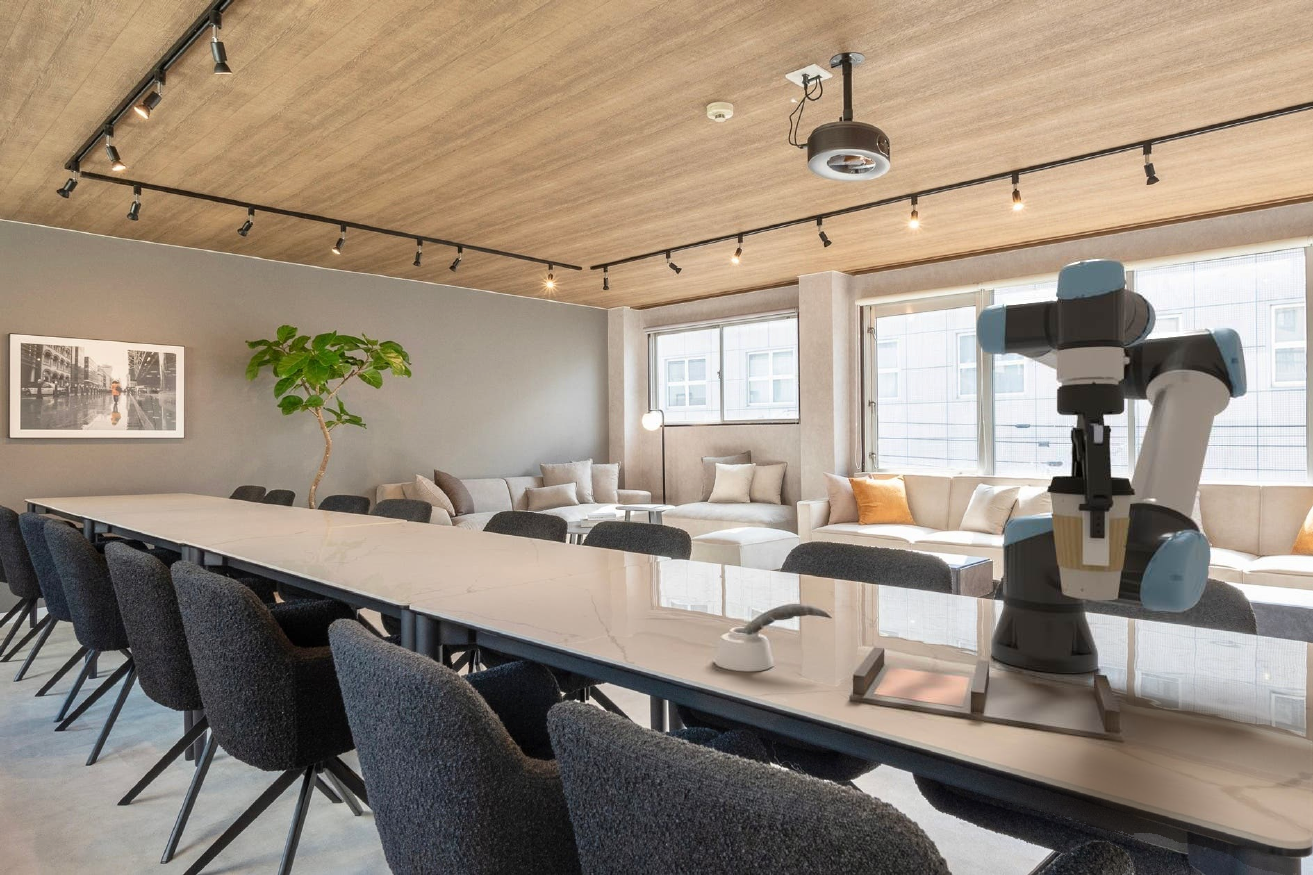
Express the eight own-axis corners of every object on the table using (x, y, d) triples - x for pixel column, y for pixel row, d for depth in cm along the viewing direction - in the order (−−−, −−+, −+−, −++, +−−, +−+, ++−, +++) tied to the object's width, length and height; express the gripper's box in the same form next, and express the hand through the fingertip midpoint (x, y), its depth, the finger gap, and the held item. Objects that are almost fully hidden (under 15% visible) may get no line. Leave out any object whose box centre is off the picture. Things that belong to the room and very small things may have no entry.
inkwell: (723, 652, 124) (724, 590, 124) (836, 665, 118) (837, 600, 118) (706, 667, 115) (706, 601, 116) (827, 682, 109) (828, 611, 109)
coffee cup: (1140, 594, 99) (1141, 477, 99) (1128, 607, 91) (1128, 480, 91) (1056, 584, 105) (1056, 475, 105) (1037, 596, 98) (1038, 477, 98)
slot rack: (849, 699, 101) (849, 676, 101) (873, 665, 118) (873, 645, 118) (1123, 741, 88) (1123, 714, 88) (1107, 696, 104) (1107, 673, 104)
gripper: (1142, 376, 87) (1142, 574, 87) (1108, 389, 107) (1108, 549, 107) (1067, 377, 90) (1066, 570, 89) (1048, 390, 110) (1048, 546, 110)
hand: (1089, 558), depth 98 cm, fingers closed on coffee cup, 10 cm apart
